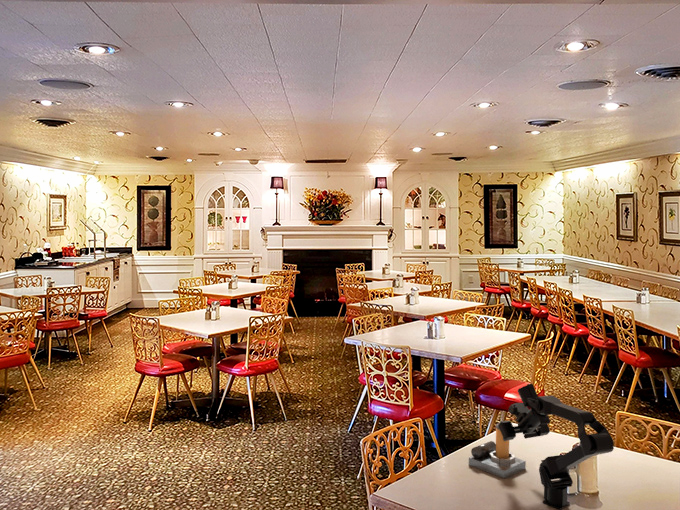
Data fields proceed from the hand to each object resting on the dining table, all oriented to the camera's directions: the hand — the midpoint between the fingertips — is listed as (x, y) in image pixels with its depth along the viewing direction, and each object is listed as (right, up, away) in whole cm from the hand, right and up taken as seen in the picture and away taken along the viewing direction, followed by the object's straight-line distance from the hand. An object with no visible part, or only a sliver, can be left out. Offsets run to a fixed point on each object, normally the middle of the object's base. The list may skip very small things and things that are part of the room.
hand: (514, 438), depth 213 cm
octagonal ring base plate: (-5, -13, +7) cm, 16 cm away
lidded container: (-2, -10, +7) cm, 13 cm away
